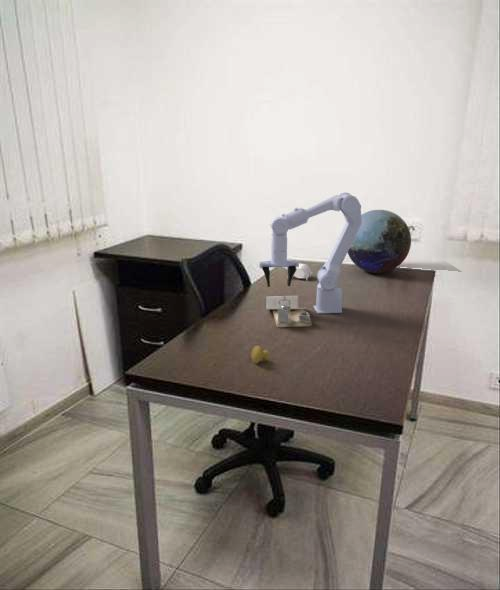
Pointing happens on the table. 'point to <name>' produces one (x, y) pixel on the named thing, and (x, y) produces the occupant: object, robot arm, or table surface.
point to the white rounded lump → (301, 271)
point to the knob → (259, 354)
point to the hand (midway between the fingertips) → (278, 285)
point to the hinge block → (284, 313)
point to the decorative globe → (380, 242)
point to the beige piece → (294, 318)
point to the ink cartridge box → (282, 302)
